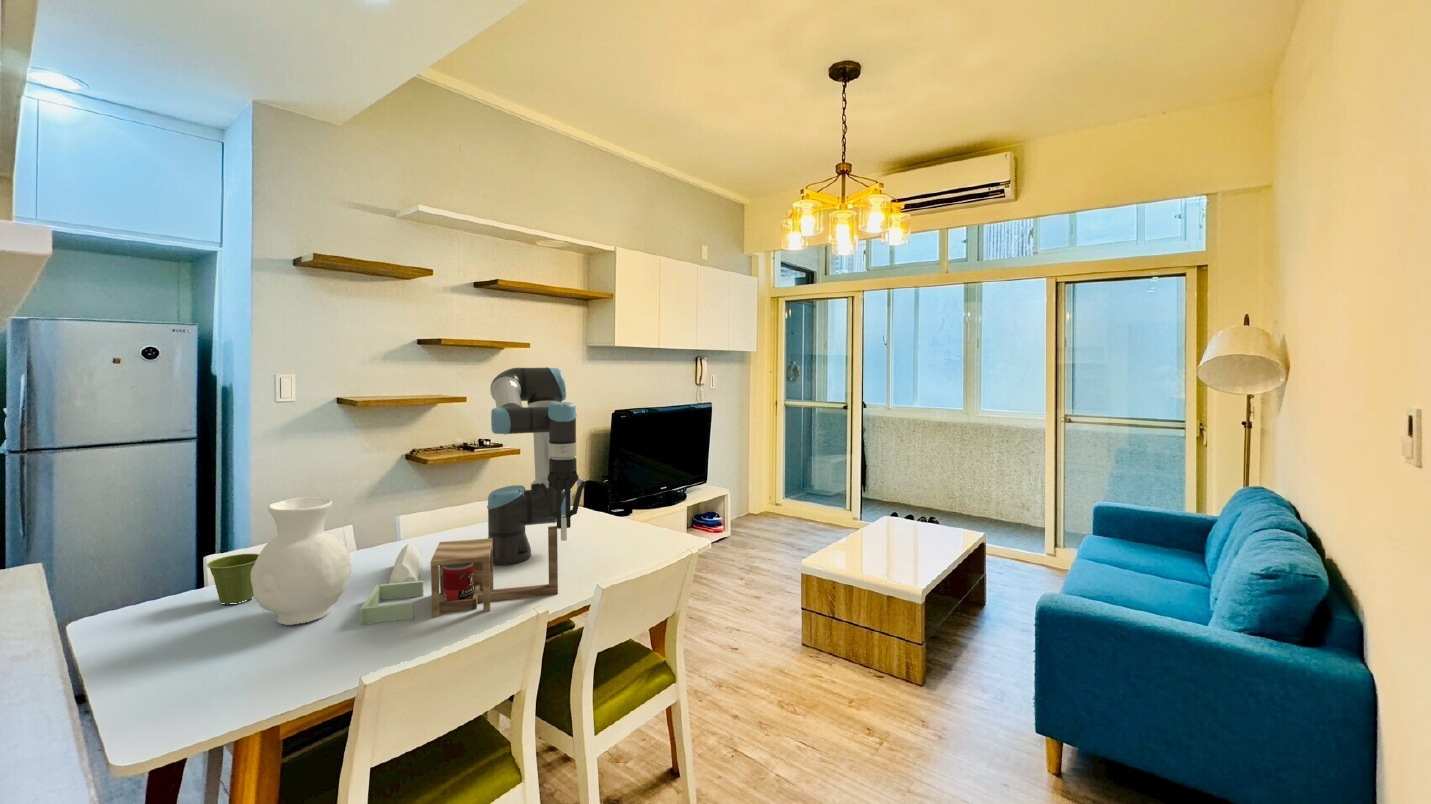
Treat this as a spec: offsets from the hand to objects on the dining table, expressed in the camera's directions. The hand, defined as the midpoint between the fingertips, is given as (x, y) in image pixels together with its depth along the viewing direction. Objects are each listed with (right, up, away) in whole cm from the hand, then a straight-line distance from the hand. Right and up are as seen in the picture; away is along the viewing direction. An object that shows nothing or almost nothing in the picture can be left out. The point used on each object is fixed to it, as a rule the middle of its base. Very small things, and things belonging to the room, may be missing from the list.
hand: (563, 539), depth 173 cm
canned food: (-27, -16, -7) cm, 32 cm away
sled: (-16, -15, -4) cm, 23 cm away
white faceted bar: (-51, -14, +12) cm, 54 cm away
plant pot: (-87, -15, -8) cm, 89 cm away
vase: (-62, -16, -18) cm, 66 cm away
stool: (-26, -16, -7) cm, 31 cm away
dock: (-42, -16, -12) cm, 46 cm away
